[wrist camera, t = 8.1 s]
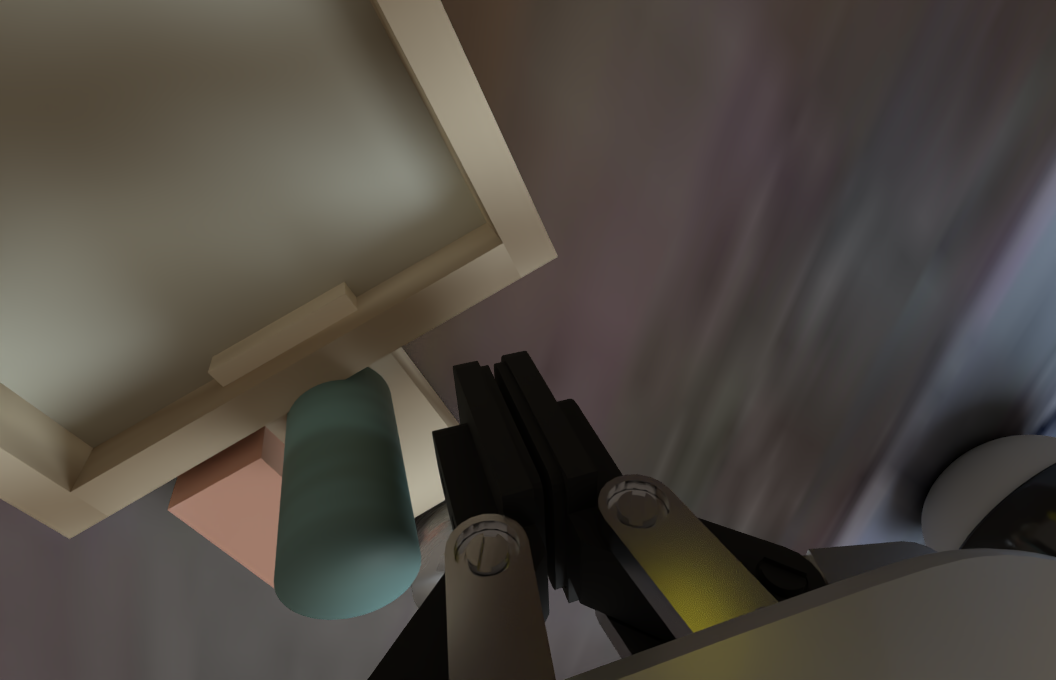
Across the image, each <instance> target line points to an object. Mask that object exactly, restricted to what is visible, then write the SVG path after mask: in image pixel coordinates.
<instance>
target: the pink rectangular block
mask: <svg viewBox="0 0 1056 680" xmlns="http://www.w3.org/2000/svg"><path fill="white" fill-rule="evenodd" d="M284 447H285V444H284V443H283V442H282V441H280V440H279V439H278V438H277V437H276V436H275V435H274V434H273V433H272V432H271V431H270V430H269V429H268V428H267V427H266V426H264V427H262V428H260V429H259V430H257V431H255V432H254V433H252V434H250V435H248V436H247V437H245V438H243V439H241V440H240V441H238V442H236V443H234V444H233V445H231V446H229V447H228V448H226V449H224V450H222V451H221V452H219V453H217V454H215V455H214V456H212V457H210V458H209V459H207V460H205V461H203V462H202V463H200V464H198V465H196V466H195V467H193V468H191V469H190V470H188V471H186V472H184V473H183V474H181V475H179V476H178V477H177V480H176V483H175V487H174V490H173V493H172V497H171V500H170V503H169V506H168V511H170V512H171V513H173V514H174V515H175V516H177V517H178V518H179V519H181V520H182V521H183V522H185V523H186V524H187V525H189V526H190V527H192V528H193V529H194V530H196V531H197V532H198V533H200V534H201V535H202V536H204V537H205V538H207V539H208V540H209V541H211V542H212V543H213V544H215V545H216V546H217V547H219V548H220V549H221V550H223V551H224V552H226V553H227V554H228V555H230V556H231V557H232V558H234V559H235V560H236V561H238V562H239V563H241V564H242V565H243V566H245V567H246V568H247V569H249V570H250V571H251V572H253V573H254V574H255V575H257V576H258V577H260V578H261V579H262V580H264V581H265V582H266V583H268V584H269V585H270V586H272V587H273V588H274V571H275V559H276V546H277V534H278V522H279V509H280V497H281V485H282V472H283V460H284Z"/></svg>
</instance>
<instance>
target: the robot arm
mask: <svg viewBox="0 0 1056 680" xmlns="http://www.w3.org/2000/svg"><path fill="white" fill-rule="evenodd" d="M453 373H454V381H455V388H456V395H457V402H458V410H459V417H460V425H456V426H452V427H448V428H443V429H439V430H435V431H432V437H433V443H434V448H435V454H436V460H437V465H438V470H439V475H440V479H441V484H442V488H443V493H444V497H445V501H446V505H447V509H448V513H449V517H450V521H451V525H452V529H453V532H452V533H451V534H450V536H449V538H448V540H447V542H446V547H445V554H444V555H445V573H444V574H443V575H442V577H441V578H440V580H439V581H438V582H437V584H436V585H435V587H434V588H433V589H432V591H431V592H430V593H429V595H428V596H427V598H426V599H425V600H424V602H423V603H422V605H421V606H420V607H419V609H418V610H417V612H416V613H415V614H414V616H413V617H412V619H411V620H410V621H409V623H408V624H407V626H406V627H405V628H404V630H403V631H402V632H401V634H400V635H399V637H398V638H397V639H396V641H395V642H394V644H393V645H392V646H391V648H390V649H389V651H388V652H387V653H386V655H385V656H384V658H383V659H382V660H381V662H380V663H379V665H378V666H377V667H376V669H375V670H374V671H373V673H372V674H371V676H370V677H369V678H368V680H556V679H555V673H554V668H553V663H552V658H551V653H550V648H549V642H548V637H547V632H546V627H545V621H546V619H547V617H548V615H549V595H548V577H549V580H550V582H551V584H552V587H553V588H554V589H555V590H556V589H559V588H563V590H564V593H565V595H566V598H567V600H568V602H569V603H571V602H574V601H577V600H579V601H580V603H581V604H583V605H585V606H588V607H590V608H592V609H595V615H596V617H597V619H598V621H599V624H600V625H601V627H602V628H603V630H604V632H605V633H606V635H607V636H608V638H609V639H610V641H611V643H612V644H613V646H614V647H615V649H616V651H617V652H618V654H619V655H620V657H621V658H622V659H620V660H617V661H614V662H612V663H609V664H606V665H603V666H601V667H598V668H595V669H592V670H590V671H587V672H584V673H581V674H579V675H576V676H573V677H570V678H568V679H565V680H1056V557H1053V556H1048V555H1044V554H1039V553H1033V552H1027V551H1020V550H1007V549H990V548H976V549H959V550H948V551H942V552H937V551H935V550H934V549H932V548H930V547H927V546H924V545H921V544H918V543H915V542H902V541H901V542H889V543H877V544H865V545H853V546H841V547H830V548H818V549H809V550H808V553H807V555H803V556H802V555H800V554H799V553H797V552H795V551H792V550H790V549H788V548H786V547H783V546H780V545H777V544H774V543H771V542H768V541H765V540H762V539H759V538H756V537H753V536H750V535H747V534H744V533H741V532H738V531H735V530H732V529H730V528H727V527H724V526H721V525H718V524H715V523H712V522H709V521H706V520H703V519H700V518H697V517H696V516H695V515H694V514H693V513H692V512H691V511H690V510H689V508H688V507H687V506H686V505H685V504H684V503H683V502H682V501H681V500H680V499H679V498H678V497H677V496H676V495H675V494H674V493H673V492H672V491H671V490H670V489H669V488H668V487H667V486H665V485H664V484H663V483H662V482H660V481H658V480H656V479H653V478H651V477H648V476H643V475H638V474H633V475H622V473H621V472H620V470H619V469H618V467H617V466H616V464H615V463H614V461H613V459H612V458H611V456H610V455H609V453H608V452H607V450H606V449H605V447H604V445H603V444H602V442H601V441H600V439H599V438H598V436H597V435H596V433H595V431H594V430H593V428H592V427H591V425H590V424H589V422H588V420H587V419H586V417H585V416H584V414H583V413H582V411H581V410H580V408H579V406H578V405H577V403H576V402H575V401H574V400H573V399H567V400H563V401H558V402H557V401H556V400H555V398H554V396H553V395H552V393H551V391H550V389H549V388H548V386H547V384H546V383H545V381H544V379H543V378H542V376H541V374H540V373H539V371H538V369H537V368H536V366H535V364H534V363H533V361H532V359H531V357H530V356H529V354H528V353H527V351H522V352H517V353H512V354H507V355H503V356H502V358H501V362H500V363H496V364H494V375H495V379H494V376H493V374H492V372H491V370H490V368H489V366H488V365H486V366H482V367H480V365H479V363H478V361H474V362H469V363H464V364H460V365H455V366H453Z"/></svg>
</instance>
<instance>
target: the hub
mask: <svg viewBox="0 0 1056 680" xmlns="http://www.w3.org/2000/svg"><path fill="white" fill-rule="evenodd" d="M414 519H415V525H416V530H417V536H418V541H419V546H420V552H421V566H420V570H419V572H418V574H417V577H416V578H415V580H414V581H413V583H412V584H411V587H412V593H413V598H414V601H415V603H416V605H417V607H418V608H419V607H420V606H421V605H422V603H423V602H424V600H425V599H426V598H427V596H428V595H429V593H430V592H431V591H432V589H433V588H434V587H435V585H436V584H437V582H438V581H439V580H440V578H441V577H442V575H443V574H444V573H445V555H444V554H445V547H446V542H447V540H448V538H449V536H450V534H451V533H452V532H453V529H452V525H451V521H450V517H449V513H448V509H447V505H446V501H445V500H444V501H442V502H441V503H439V504H437V505H436V506H434V507H432V508H430V509H429V510H427V511H425V512H424V513H422V514H420V515H419V516H417V517H415V518H414Z"/></svg>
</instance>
